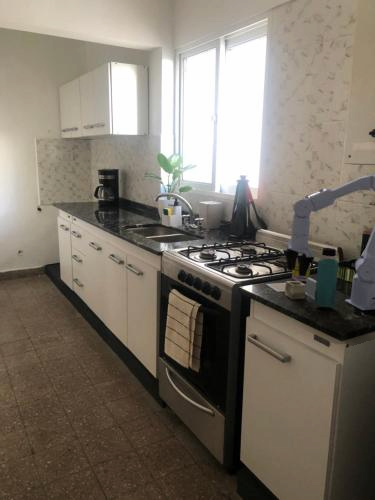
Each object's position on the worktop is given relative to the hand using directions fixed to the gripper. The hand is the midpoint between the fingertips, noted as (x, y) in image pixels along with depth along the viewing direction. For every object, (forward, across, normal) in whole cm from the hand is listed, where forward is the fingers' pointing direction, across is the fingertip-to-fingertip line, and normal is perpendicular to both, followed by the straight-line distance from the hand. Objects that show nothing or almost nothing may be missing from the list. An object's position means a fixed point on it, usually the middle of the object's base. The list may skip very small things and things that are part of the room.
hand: (296, 272), depth 146 cm
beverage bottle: (+9, +13, +3) cm, 16 cm away
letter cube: (+9, 0, 0) cm, 9 cm away
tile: (+9, -10, 0) cm, 13 cm away
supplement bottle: (+9, -19, +14) cm, 25 cm away
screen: (+9, +2, +6) cm, 11 cm away
